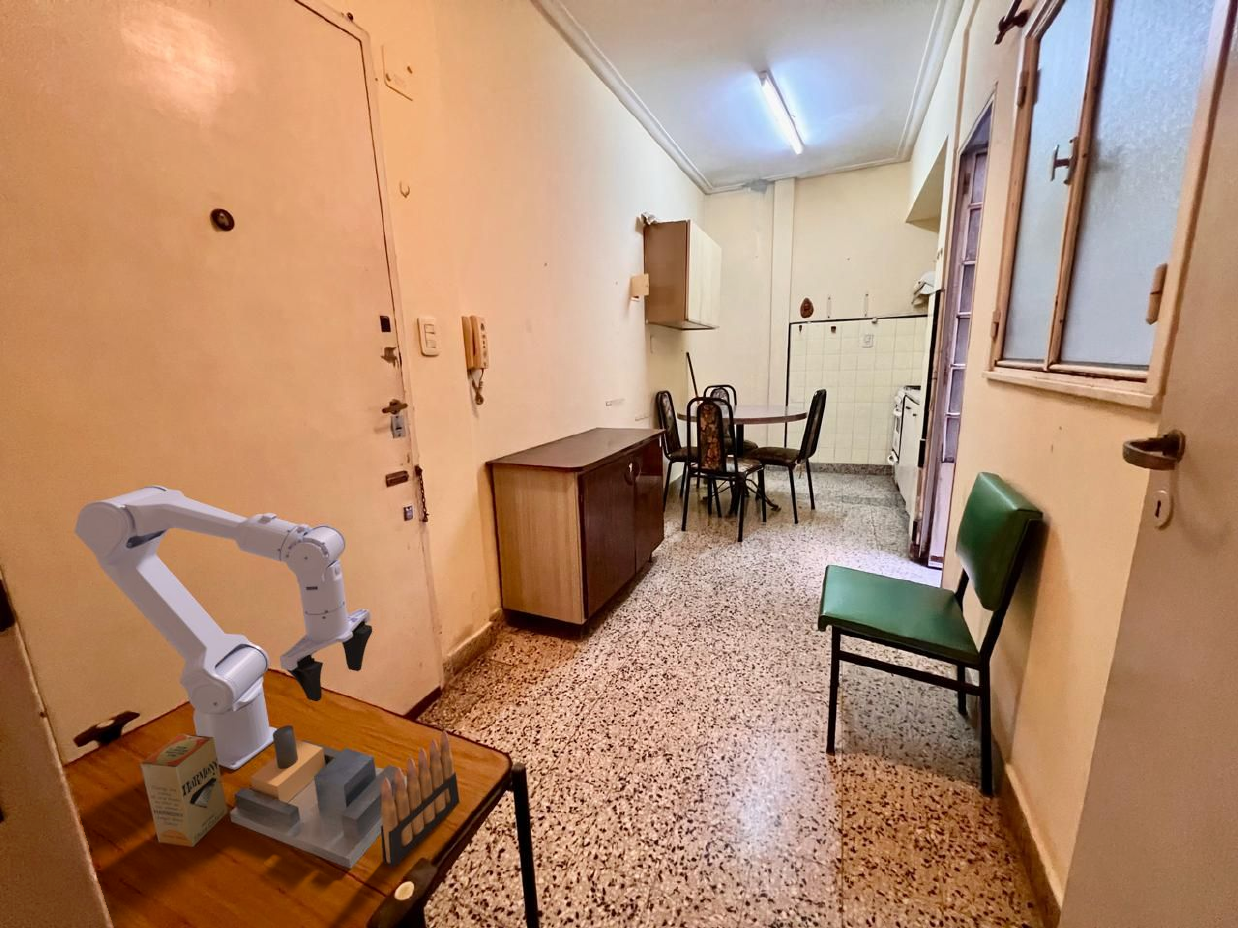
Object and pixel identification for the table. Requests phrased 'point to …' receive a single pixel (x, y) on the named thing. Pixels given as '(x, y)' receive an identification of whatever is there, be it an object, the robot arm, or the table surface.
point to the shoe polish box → (184, 789)
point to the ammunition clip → (417, 801)
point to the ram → (288, 766)
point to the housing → (343, 781)
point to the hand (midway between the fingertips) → (335, 683)
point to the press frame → (317, 818)
